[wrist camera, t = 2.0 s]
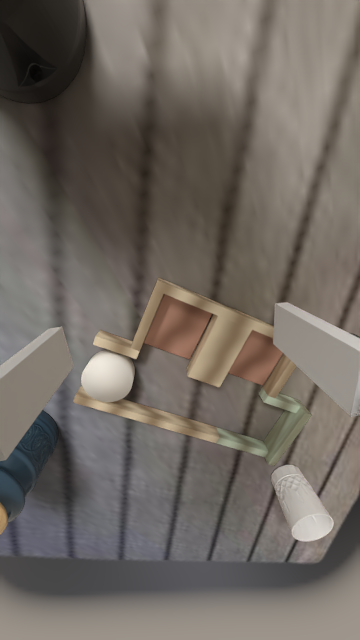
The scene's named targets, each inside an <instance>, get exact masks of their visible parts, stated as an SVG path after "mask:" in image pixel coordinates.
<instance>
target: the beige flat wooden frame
mask: <svg viewBox="0 0 360 640" xmlns="http://www.w3.org/2000/svg"><path fill="white" fill-rule="evenodd" d="M163 294H164V296H163ZM162 296H163V298H162ZM161 299H162V300H161ZM160 301H161V303H160ZM159 304H160V305H159ZM158 306H159V308H158ZM157 308H158V310H157ZM156 311H157V312H156ZM155 313H156V315H155ZM212 314H213V316H212V318H211V320H210V322H209V324H208V326H207V328H206V330H205V332H204V334H203V336H202V338H201V340H200V342H199V344H198V346H197V348H196V350H195V352H194V354H193V356H192V353H193V351H194V349H195V347H196V345H197V343H198V341H199V339H200V337H201V335H202V333H203V331H204V329H205V327H206V325H207V323H208V321H209V319H210V317H211V315H212ZM154 316H155V317H154ZM153 318H154V320H153ZM152 320H153V322H152ZM151 323H152V324H151ZM150 325H151V327H150ZM149 328H150V329H149ZM148 330H149V332H148ZM147 332H148V334H147ZM273 334H274V326H273V325H271V324H268V323H266V322H263V321H261V320H259V319H256V318H254V317H252V316H249V315H247V314H244V313H242V312H240V311H237V310H235V309H232V308H230V307H228V306H225V305H223V304H221V303H218V302H216V301H213V300H211V299H209V298H206V297H204V296H201V295H199V294H197V293H194V292H192V291H189V290H187V289H185V288H182V287H180V286H178V285H175V284H173V283H170V282H168V281H166V280H163V279H161V278H158V279H157V282H156V284H155V287H154V289H153V292H152V294H151V297H150V299H149V302H148V304H147V307H146V309H145V312H144V314H143V317H142V319H141V322H140V324H139V327H138V329H137V332H136V334H135V337H134V339H133V341H130V340H127V339H124V338H122V337H119V336H116V335H113V334H110V333H107V332H105V331H102V330H100V331H99V332H98V334H97V335H96V337H95V340H94V343H93V345H96V346H99V347H102V348H105V349H108V350H111V351H114V352H117V353H120V354H123V355H125V356H128V357H131V358H134V359H137V357H138V354H139V352H140V349H141V347H142V344H143V342H144V343H145V344H148V345H151V346H154V347H156V348H159V349H162V350H165V351H168V352H170V353H173V354H176V355H179V356H182V357H184V358H187V359H190V358H191V356H192V358H191V360H190V362H189V364H188V366H187V368H186V369H187V375H188V377H190V378H193V379H196V380H199V381H202V382H205V383H208V384H211V385H214V386H217V387H220V386H221V384H222V382H223V380H224V379H225V377H226V375H227V373H229V374H232V375H235V376H238V377H241V378H243V379H246V380H249V381H252V382H255V383H257V384H260V385H263V384H264V383H265V384H264V386H263V387H262V389H261V390H260V392H259V395H260V397H261V399H262V400H263V402H264V403H267V404H270V405H273V406H276V407H279V408H282V409H285V411H284V412H283V413H282V415H281V416H280V418H279V419H278V421H277V422H276V424H275V425H274V427H273V428H272V429H271V431H270V432H269V434H268V435H267V437H266V438H265V440H264V441H261V440H257V439H254V438H251V437H247V436H244V435H241V434H237V433H234V432H231V431H228V430H224V429H221V428H218V427H214V426H211V425H208V424H204V423H201V422H198V421H194V420H191V419H188V418H184V417H181V416H178V415H174V414H171V413H168V412H164V411H161V410H158V409H154V408H151V407H148V406H145V405H141V404H138V403H135V402H131V401H128V400H125V399H120V400H118V401H114V402H102V401H99V400H96V399H94V398H92V397H91V396H89V395H88V394H87V393H86V391H85V390H84V388H83V387H80V388H79V390H78V392H77V394H76V395H75V398H74V401H73V403H77V404H80V405H84V406H87V407H91V408H94V409H98V410H101V411H105V412H108V413H112V414H115V415H119V416H122V417H126V418H129V419H133V420H136V421H140V422H143V423H147V424H150V425H154V426H157V427H161V428H164V429H168V430H171V431H175V432H178V433H182V434H185V435H189V436H192V437H196V438H199V439H203V440H206V441H210V442H213V443H217V444H220V445H224V446H227V447H231V448H234V449H238V450H241V451H245V452H248V453H252V454H255V455H259V456H262V457H265V459H266V461H267V463H268V464H269V465H272V466H275V465H276V463H277V462H278V461H279V459H280V458H281V457H282V455H283V454H284V452H285V451H286V450H287V448H288V447H289V446H290V444H291V443H292V442H293V440H294V439H295V438H296V436H297V435H298V434H299V432H300V431H301V430H302V428H303V427H304V425H305V424H306V423H307V421H308V420H309V419H310V417H311V416H312V415H311V414H310V412H309V411H308V410H307V409H306V408H305V407H304V405H303V404H302V403H301V402H300V401H299V400H297V399H294V398H291V397H288V396H285V395H283V394H280V393H279V392H280V390H281V389H282V387H283V386H284V384H285V383H286V381H287V380H288V378H289V377H290V375H291V374H292V372H293V371H294V369H295V368H296V365H295V364H294V363H293V362H292V361H291V360H290V359H289V358H288V357H287V356H286V355H285V354H283V352H281V351H280V350H279V349H278V348H277V347H276V346H275V345H274V344H273ZM146 335H147V336H146ZM145 337H146V339H145ZM144 340H145V341H144ZM282 354H283V355H282ZM281 356H282V357H281ZM280 357H281V359H280ZM279 359H280V360H279ZM278 360H279V362H278ZM277 362H278V363H277ZM276 364H277V365H276ZM275 365H276V367H275ZM274 367H275V368H274ZM273 368H274V370H273ZM272 370H273V371H272ZM271 372H272V373H271ZM270 373H271V374H270ZM269 375H270V376H269ZM268 376H269V378H268ZM267 378H268V379H267ZM266 380H267V381H266ZM265 381H266V382H265Z"/></svg>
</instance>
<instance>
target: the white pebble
mask: <svg viewBox="0 0 360 640" xmlns="http://www.w3.org/2000/svg"><path fill="white" fill-rule="evenodd" d="M134 375H135V366H134V364H133V361H132V360H131V359H130V357H128V356H125V355H123V354H120V353H117V352H114V351H111V350H103V351H100V352H98V353H96V354H95V355H94V356H93V357H92V358H91V359H90V361H89V363H88V364H87V366H86V367H85V369H84V371H83V373H82V376H81V382H82V386H83V388H84V390H85V391H86V393H87V394H88V395H89V396H91V397H92V398H94V399H96V400H99V401H102V402H114V401H118V400H120V399H122V398H124V397H125V396H126V395H127V394H128V393H129V392H130V390H131V388H132V384H133V380H134Z"/></svg>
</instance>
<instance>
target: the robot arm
mask: <svg viewBox="0 0 360 640" xmlns="http://www.w3.org/2000/svg"><path fill="white" fill-rule="evenodd" d="M85 42H86V18H85V10H84V5H83V0H0V95H1V96H3V97H5V98H8V99H11V100H14V101H18V102H24V103H37V102H43V101H46V100H49V99H51V98H53V97H55V96H57V95H58V94H60V93H61V92H62V91H63V90H65V89H66V88H67V86H68V85H69V84H70V83H71V82H72V80H73V79H74V77H75V75H76V74H77V72H78V69H79V67H80V64H81V62H82V58H83V54H84V49H85ZM273 344H274V345H275V346H276V347H277V348H278V349H279V350H280V351H281V352H283V353H284V354H285V355H286V356H287V357H288V358H289V359H290V360H291V361H292V362H293V363H294V364H295V365H296V366H297V367H298V368H300V369H301V370H302V371H303V372H304V373H305V374H306V375H307V376H308V377H309V378H310V379H311V380H312V381H313V382H314V383H315V384H317V385H318V386H319V387H320V388H321V389H322V390H323V391H324V392H325V393H326V394H327V395H328V396H329V397H330V398H331V399H332V400H334V401H335V402H336V403H337V404H338V405H339V406H340V407H341V408H342V409H343V410H344V411H345V412H346V413H347V414H348V415H349V416H359V415H360V337H359V336H357V335H354V334H352V333H348V332H346V331H344V330H342V329H340V328H338V327H336V326H334V325H332V324H330V323H328V322H326V321H324V320H322V319H320V318H318V317H316V316H314V315H312V314H310V313H308V312H306V311H304V310H302V309H300V308H298V307H296V306H294V305H292V304H290V303H288V302H285V303H276V304H275V313H274V334H273ZM73 367H74V366H73V363H72V359H71V356H70V352H69V349H68V345H67V342H66V338H65V335H64V331H63V328H62V327H57V328H49V329H48V330H47V331H45V332H44V333H43V334H41V335H40V336H39V337H37V338H36V339H35V340H33V341H32V342H31V343H29V344H28V345H27V346H26V347H24V348H23V349H22V350H20V351H19V352H18V353H16V354H15V355H14V356H12V357H11V358H10V359H8V360H7V361H6V362H4V363H3V364H2V365H0V461H4V460H6V459H7V458H8V457H9V455H10V454H11V453H12V451H13V450H14V448H15V447H16V446H17V444H18V443H19V441H20V440H21V439H22V437H23V436H24V435H25V433H26V432H27V430H28V429H29V428H30V426H31V425H32V423H33V422H34V421H35V419H36V418H37V417H38V415H39V414H40V412H41V411H42V410H43V408H44V407H45V405H46V404H47V403H48V401H49V400H50V399H51V397H52V396H53V394H54V393H55V392H56V390H57V389H58V388H59V386H60V385H61V383H62V382H63V381H64V379H65V378H66V376H67V375H68V374H69V372H70V371H71V370H72V368H73Z"/></svg>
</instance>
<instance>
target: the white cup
mask: <svg viewBox="0 0 360 640" xmlns="http://www.w3.org/2000/svg"><path fill="white" fill-rule="evenodd" d="M271 481H272V484H273V486H274V489H275V491H276V495H277V498H278V500H279V502H280V506H281V508H282V511H283V513H284V516H285V518H286V521H287V523H288V526H289V528H290V531H291V533H292V536H293V537H294V538H295V539H297V540H299V541H314V540H317V539H320V538H322V537H324V536H325V535H327V534H328V533H329V532H330V531H331V530H332V528H333V525H334V521H333V519H332V517H331V516H330V514H329V513H328V511H327V510H326V508H325V507H324V505H323V504H322V502H321V501H320V499H319V498H318V496H317V494H316V493H315V491H314V490H313V488H312V487H311V486H310V484H309V483H308V481H307V480H306V479H305V477H304V476H303V475H302V473H301V471H300V470H299V468H298V467H296V466H294V465H284V466H281V467H279V468H277V469H276V470H274V472H273V473H272V475H271Z"/></svg>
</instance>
